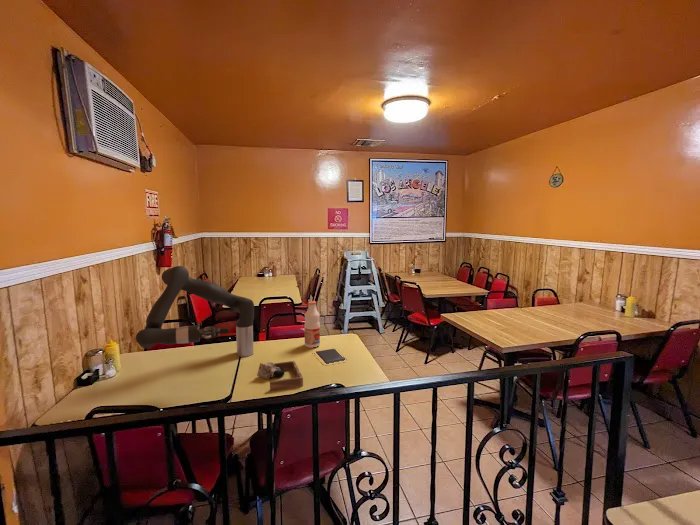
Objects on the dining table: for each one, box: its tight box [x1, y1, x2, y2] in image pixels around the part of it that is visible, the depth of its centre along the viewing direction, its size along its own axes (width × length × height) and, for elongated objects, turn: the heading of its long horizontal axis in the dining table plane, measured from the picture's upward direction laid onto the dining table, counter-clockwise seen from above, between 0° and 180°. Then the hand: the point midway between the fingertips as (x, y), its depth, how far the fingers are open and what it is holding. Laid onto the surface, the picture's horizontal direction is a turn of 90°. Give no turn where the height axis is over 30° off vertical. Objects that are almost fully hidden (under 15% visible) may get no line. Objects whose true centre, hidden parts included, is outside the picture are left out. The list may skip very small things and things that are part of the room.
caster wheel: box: [256, 361, 286, 381], centre depth 172 cm, size 7×11×10 cm
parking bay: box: [269, 360, 304, 392], centre depth 169 cm, size 20×15×4 cm
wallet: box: [314, 348, 346, 364], centre depth 196 cm, size 20×2×15 cm
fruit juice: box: [304, 300, 321, 349], centre depth 211 cm, size 9×9×28 cm
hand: (228, 330), depth 161 cm, fingers closed
